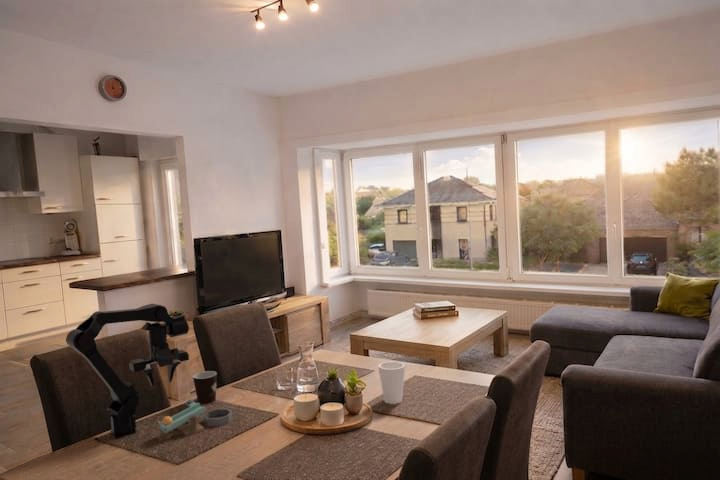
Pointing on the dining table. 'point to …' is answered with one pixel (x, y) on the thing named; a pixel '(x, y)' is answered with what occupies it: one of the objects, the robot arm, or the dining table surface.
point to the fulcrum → (184, 429)
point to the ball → (167, 421)
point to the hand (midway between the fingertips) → (161, 384)
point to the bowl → (217, 417)
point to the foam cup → (392, 381)
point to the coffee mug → (205, 386)
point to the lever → (183, 415)
